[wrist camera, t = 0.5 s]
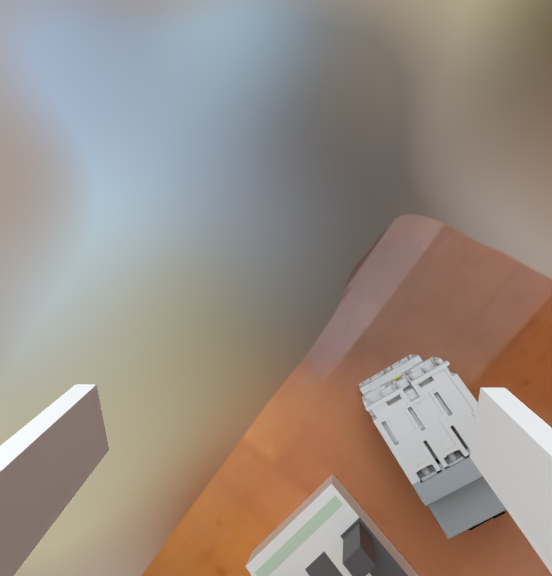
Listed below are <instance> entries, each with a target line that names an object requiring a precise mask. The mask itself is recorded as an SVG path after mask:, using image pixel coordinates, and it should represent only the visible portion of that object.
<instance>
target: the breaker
mask: <svg viewBox="0 0 552 576" xmlns="http://www.w3.org/2000/svg"><path fill="white" fill-rule="evenodd" d="M342 563H343V565H344V566H345V567H346V569H347V570H348V571H349V572H350V574H351V575H352V576H366V575H367V574H368V573H369V572H370V571H371V570H372V569H374V568H375V567H376V561H375V552H374V544H373V538H372V537H371V536H370V535H369V533H368V532H367V531H366V530H365V528H364V527H363V526H362V525H361V524H360V522H358V523H357V524H356V525H355V526H354V527H353V528H352V529H351V530H350V531H349V532H348V533H347V534H346V535H345V536H344V537H343V562H342Z"/></svg>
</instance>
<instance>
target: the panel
mask: <svg viewBox="0 0 552 576" xmlns="http://www.w3.org/2000/svg"><path fill="white" fill-rule="evenodd" d="M358 522H360V524H361V525H362V526H363V527H364V528H365V530H366V531H367V532H368V533H369V535H370V536H371V537H372V538H373V544H374V552H375V561H376V567H375V568H374V569H372V570H371V571H370V572H369V573H368V574H367V575H366V576H419V575H418V574H417V573H416V571H415V570H414V569H413V568H412V567H411V566H410V564H409V563H408V562H407V561H406V560H405V558H404V557H403V556H402V555H401V554H400V553H399V551H398V550H397V549H396V548H395V547H394V545H393V544H392V543H391V542H390V541H389V539H388V538H387V537H386V536H385V535H384V534H383V532H382V531H381V530H380V529H379V528H378V526H377V525H376V524H375V523H374V522H373V520H372V519H371V518H370V517H369V516H368V515H367V513H366V512H365V511H364V510H363V509H362V507H361V506H360V505H359V504H358V503H357V502H356V500H355V499H354V498H353V497H352V496H351V494H350V493H349V492H348V491H347V490H346V488H345V487H344V486H343V485H342V484H341V483H340V481H339V480H338V479H337V478H336V477H335V475H334V474H332V475H331V476H330V477H329V478H328V479H327V480H326V481H325V482H324V483H323V484H321V485H320V486H319V487H318V488H317V489H316V490H315V491H314V492H313V493H312V494H311V495H310V496H309V497H308V498H307V499H306V500H305V501H304V502H303V503H302V504H301V505H300V506H299V507H298V508H297V509H296V510H294V511H293V512H292V513H291V514H290V515H289V516H288V517H287V518H286V519H285V520H284V521H283V522H282V523H281V524H280V525H279V526H278V527H277V528H276V529H275V530H274V531H273V532H272V533H271V534H270V535H268V536H267V537H266V538H265V539H264V540H263V541H262V542H261V543H260V544H259V545H258V546H257V547H256V548H255V549H254V550H253V552H252V554H251V556H250V558H249V560H248V562H247V564H246V568H247V569H248V571H249V572H250V574H251V575H252V576H352V575H351V574H350V572H349V571H348V570H347V569H346V567H345V566H344V565H343V563H342V562H343V537H344V536H345V535H346V534H347V533H348V532H349V531H350V530H351V529H352V528H353V527H354V526H355V525H356V524H357V523H358Z"/></svg>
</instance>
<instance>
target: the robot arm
mask: <svg viewBox="0 0 552 576" xmlns="http://www.w3.org/2000/svg"><path fill="white" fill-rule="evenodd" d="M108 450H109V447H108V442H107V437H106V432H105V426H104V421H103V416H102V411H101V406H100V401H99V395H98V390H97V385H82V384H81V385H80V384H77V385H74V386H73V387H72V388H71V389H70V390H68V391H67V392H66V393H65V394H63V395H62V396H61V397H60V398H59V399H57V400H56V401H55V402H54V403H52V404H51V405H50V406H49V407H48V408H46V409H45V410H44V411H43V412H41V413H40V414H39V415H38V416H36V417H35V418H34V419H33V420H32V421H30V422H29V423H28V424H27V425H26V426H24V427H23V428H22V429H21V430H19V431H18V432H17V433H16V434H14V436H12V437H11V438H10V439H9V440H7V441H6V442H5V443H4V444H2V445H1V446H0V576H14V574H15V573H16V572H17V570H18V569H19V568H20V566H21V565H22V564H23V562H24V561H25V560H26V558H27V557H28V556H29V554H30V553H31V552H32V550H33V549H34V548H35V546H36V545H37V544H38V542H39V541H40V540H41V539H42V537H43V536H44V535H45V533H46V532H47V531H48V529H49V528H50V527H51V525H52V524H53V523H54V521H55V520H56V519H57V518H58V516H59V515H60V514H61V512H62V511H63V510H64V508H65V507H66V506H67V504H68V503H69V502H70V500H71V499H72V498H73V496H74V495H75V494H76V492H77V491H78V490H79V488H80V487H81V486H82V485H83V483H84V482H85V481H86V479H87V478H88V476H89V475H90V474H91V473H92V471H93V470H94V469H95V467H96V466H97V465H98V463H99V462H100V461H101V460H102V458H103V457H104V455H105V454H106V453H107V452H108ZM470 458H471V460H472V461H473V463H474V464H475V465H476V467H477V468H478V470H479V471H480V473H481V474H482V475H483V477H484V478H485V480H486V481H487V483H488V484H489V485H490V487H491V488H492V490H493V491H494V493H495V494H496V495H497V497H498V498H499V500H500V501H501V503H502V504H503V505H504V507H505V508H506V510H507V511H508V512H509V514H510V515H511V517H512V518H513V520H514V521H515V522H516V524H517V525H518V527H519V528H520V530H521V531H522V532H523V534H524V535H525V537H526V538H527V540H528V541H529V542H530V544H531V545H532V547H533V548H534V550H535V551H536V552H537V554H538V555H539V557H540V558H541V560H542V561H543V562H544V564H545V565H546V567H547V568H548V569H549V571H550V572H551V574H552V428H551V427H550V426H549V425H548V424H546V423H545V422H544V421H543V420H542V419H541V418H539V417H538V416H537V415H536V414H535V413H534V412H532V411H531V410H530V409H529V408H528V407H527V406H525V405H524V404H523V403H522V402H521V401H520V400H518V399H517V398H516V397H515V396H514V395H513V394H512V393H510V392H509V391H508V390H507V389H506V388H480V395H479V401H478V407H477V413H476V420H475V426H474V432H473V439H472V445H471V451H470Z"/></svg>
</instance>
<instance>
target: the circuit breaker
mask: <svg viewBox="0 0 552 576" xmlns="http://www.w3.org/2000/svg"><path fill="white" fill-rule="evenodd" d="M404 362H405V363H404ZM448 365H450V364H449V362H448V361H445V362H443V361H442V359H441V358H438V357H431V358H429V359H428V360H426V361H424V362H423V361H422V359H421V358H420V357H419V356H418V355H411V354H410V355H408V356H407V357H405V358H403V359H401V360H400V361H398V362H396V363H395V364H393V365H391V366H389V367H388V368H386V369H384V370H382V371H381V372H379V373H377V374H376V375H374V376H372V377H370V378H369V379H367V380H365V381H363V382H362V383H360V384H359V388H360V390H361V392H362V394H363V395H364V396H363V397H362V401H363V403H364V405H365V409H366V410H367V411H369V413H370V415H371V416H372V419H373V422H374V423H375V425H376V427H377V428H378V430H379V431H380V433H381V435H382V436H383V438H384V440H385V441H386V443H387V445H388V446H389V448H390V449H391V451H392V453H393V454H394V456H395V458H396V459H397V461H398V463H399V464H400V466H401V467H402V469H403V471H404V472H405V474H406V476H407V477H408V479H409V481H410V482H411V484H412V485H413V487H414V489H415V490H416V492H417V494H418V495H419V497H420V499H421V500H422V502H423V503H424V505H425V507H426V506H428V507H429V508H430V510H431V512H432V513H433V515H434V516H435V518H436V520H437V521H438V523H439V525H440V526H441V528H442V529H443V531H444V533H445V534H446V536H447V538H448V539H450V538H452V537H454V536H456V535H458V534H460V533H462V532H464V531H466V530H472V529H474V528H475V527H477V526H479V525H481V524H483V523H484V522H486V521H488V520H490V519H492V518H496V517H498V516H500V515H502V514H504V513H505V512H504V511H505V510H506V508H505V507H504V505H503V504H502V503H501V501H500V500H499V498H498V497H497V495H496V494H495V493H494V491H493V490H492V488H491V487H490V485H489V484H488V483H487V481H486V480H485V478H484V477H483V475H482V474H481V473H480V471H479V470H478V468H477V467H476V465H475V464H474V463H473V461H472V460H471V458H470V451H471V445H472V439H473V432H474V426H475V420H476V413H477V407H478V402H477V401H476V400H475V398H474V397H473V395H472V394H471V393H470V391H469V390H468V388H467V387H466V386H465V384H464V383H463V382H462V380H461V379H460V377H459V376H458V375H457V374H456V373H452V372H450V371H449V369H448V368H447V366H448ZM390 370H391V371H390ZM383 374H384V375H383ZM369 382H370V383H369Z"/></svg>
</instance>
